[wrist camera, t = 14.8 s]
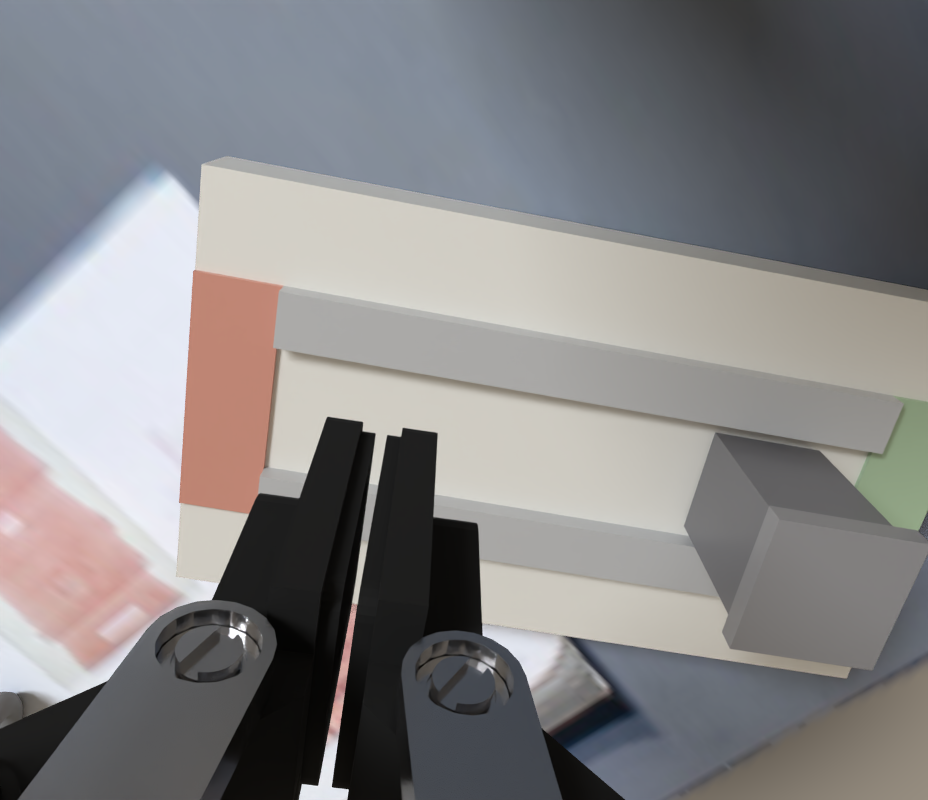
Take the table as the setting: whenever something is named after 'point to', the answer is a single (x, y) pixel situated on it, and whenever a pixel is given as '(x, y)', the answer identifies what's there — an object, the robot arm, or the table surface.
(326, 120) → the table surface
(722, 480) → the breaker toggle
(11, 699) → the newton's cradle
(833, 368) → the slider rail board
